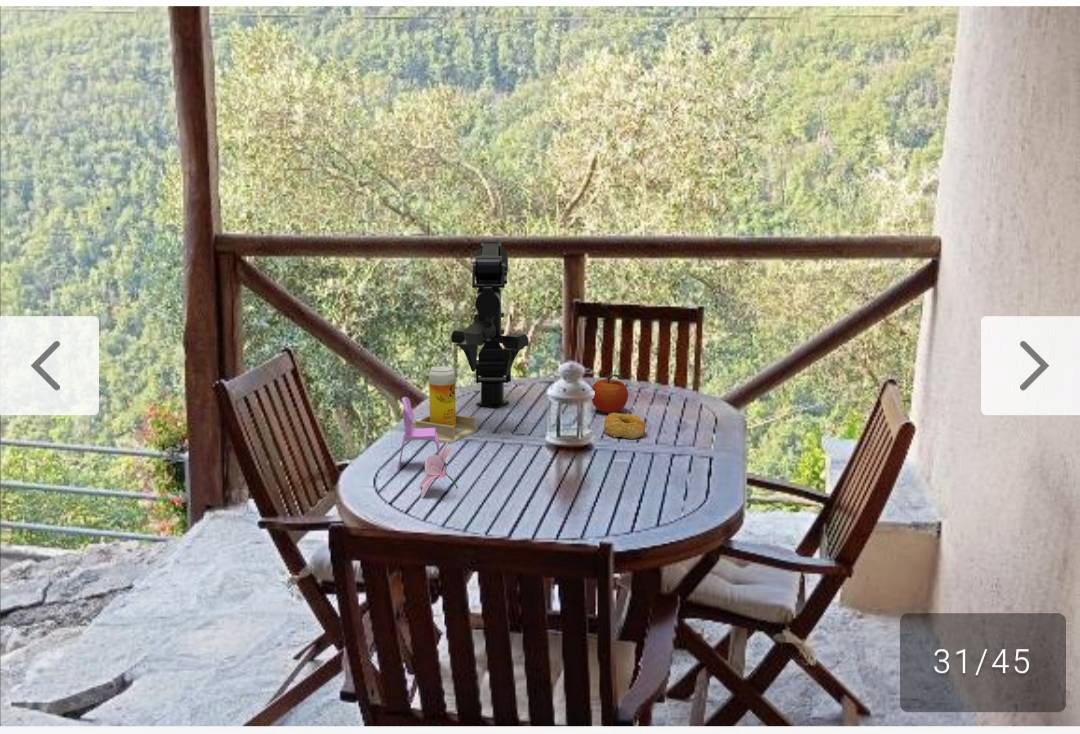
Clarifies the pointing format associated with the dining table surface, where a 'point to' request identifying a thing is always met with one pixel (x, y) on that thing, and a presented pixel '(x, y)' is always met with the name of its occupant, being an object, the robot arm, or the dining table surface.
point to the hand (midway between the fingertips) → (489, 373)
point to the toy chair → (413, 432)
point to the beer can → (442, 395)
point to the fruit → (610, 395)
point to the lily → (436, 468)
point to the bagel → (624, 425)
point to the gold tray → (448, 428)
